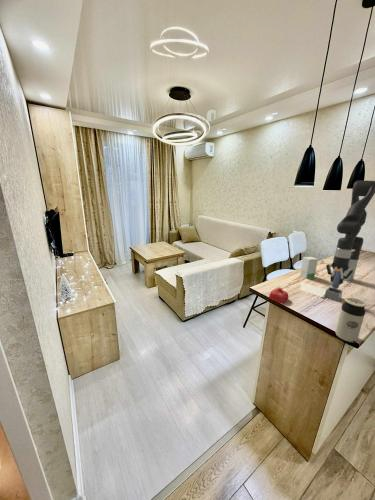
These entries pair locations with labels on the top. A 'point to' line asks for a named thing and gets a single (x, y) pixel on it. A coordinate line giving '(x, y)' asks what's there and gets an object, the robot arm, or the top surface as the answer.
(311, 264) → the skincare box
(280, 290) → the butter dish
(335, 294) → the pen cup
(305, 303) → the top surface
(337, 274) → the marker
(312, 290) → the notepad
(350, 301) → the travel mug
